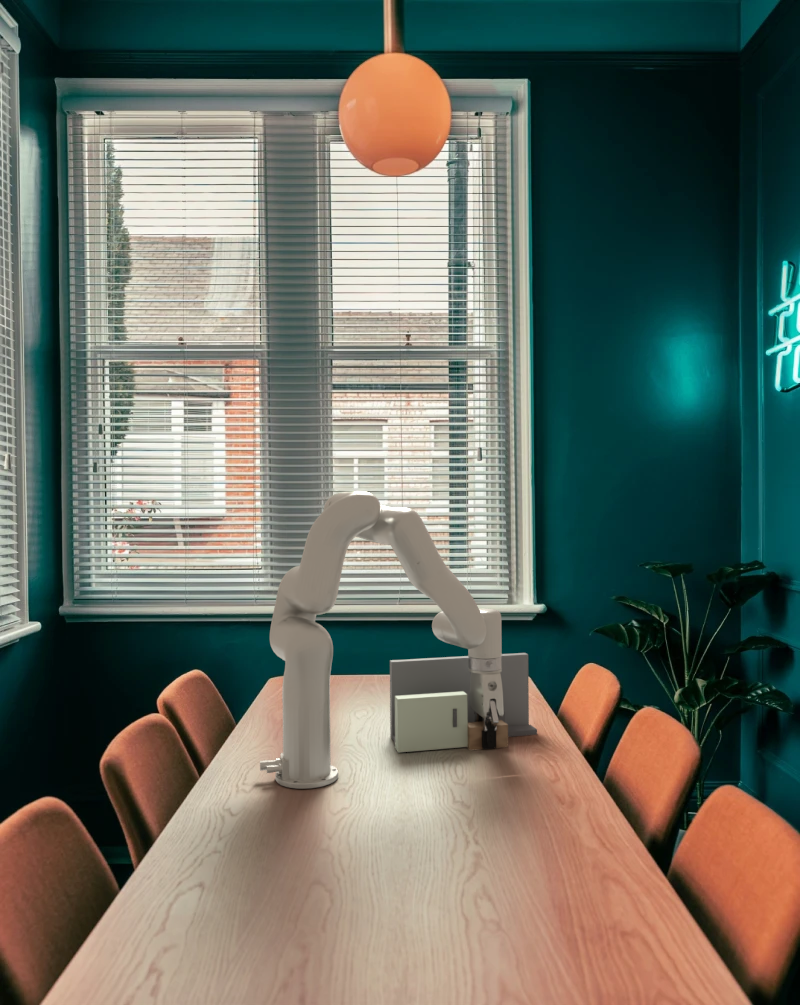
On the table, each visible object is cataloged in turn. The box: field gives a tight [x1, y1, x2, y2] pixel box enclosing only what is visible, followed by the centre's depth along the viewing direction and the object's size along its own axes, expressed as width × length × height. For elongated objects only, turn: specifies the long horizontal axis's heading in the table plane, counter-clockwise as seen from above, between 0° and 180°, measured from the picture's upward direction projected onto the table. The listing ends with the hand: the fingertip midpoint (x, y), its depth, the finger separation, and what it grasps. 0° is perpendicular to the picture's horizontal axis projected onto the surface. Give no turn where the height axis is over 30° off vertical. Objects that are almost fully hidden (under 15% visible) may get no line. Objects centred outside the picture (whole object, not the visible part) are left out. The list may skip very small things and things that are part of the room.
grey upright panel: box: [389, 652, 538, 743], centre depth 182 cm, size 34×7×18 cm, turn 103°
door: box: [394, 691, 468, 753], centre depth 172 cm, size 16×3×12 cm, turn 103°
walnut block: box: [466, 720, 509, 751], centre depth 174 cm, size 9×4×5 cm, turn 103°
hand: (485, 744), depth 174 cm, fingers closed on walnut block, 4 cm apart
